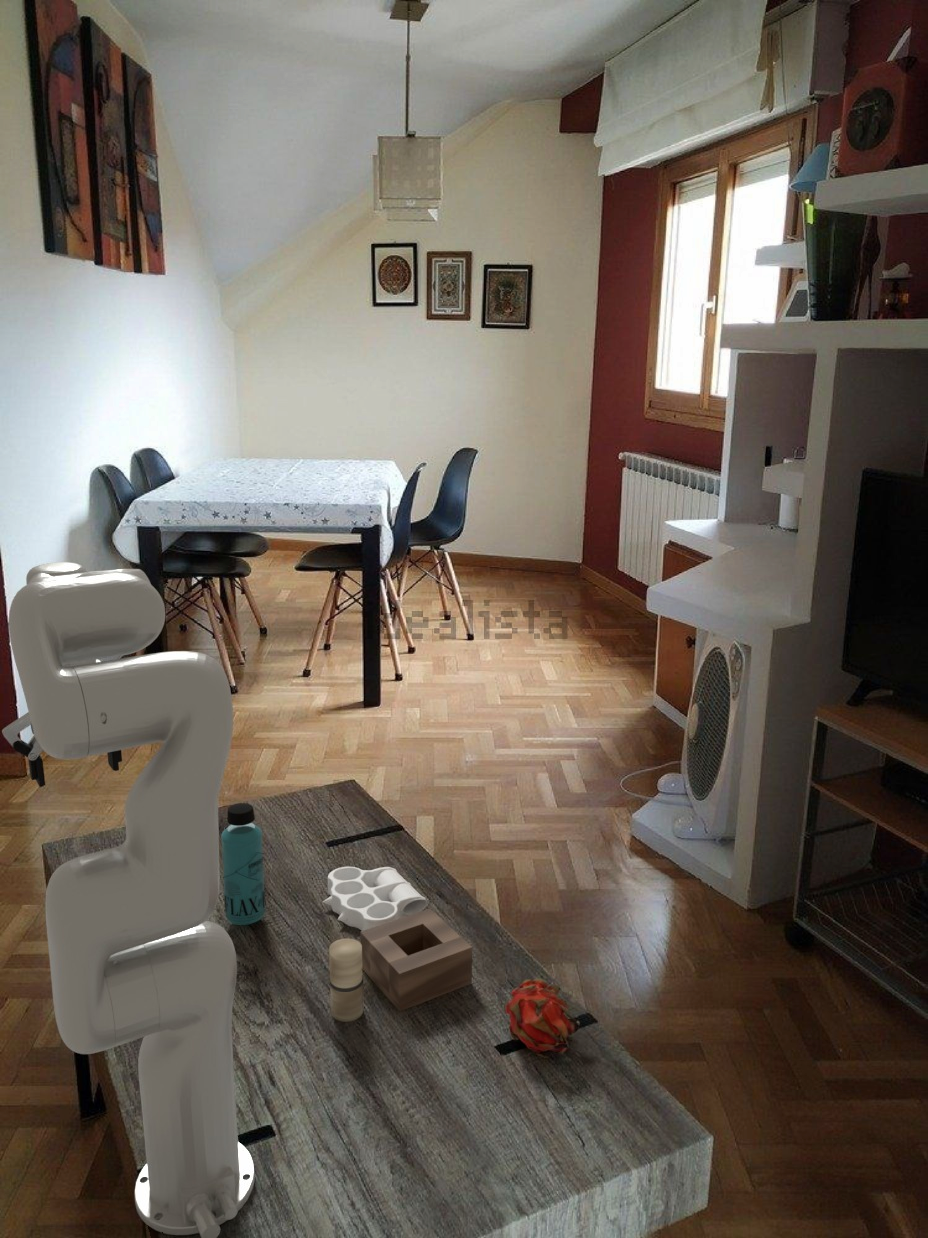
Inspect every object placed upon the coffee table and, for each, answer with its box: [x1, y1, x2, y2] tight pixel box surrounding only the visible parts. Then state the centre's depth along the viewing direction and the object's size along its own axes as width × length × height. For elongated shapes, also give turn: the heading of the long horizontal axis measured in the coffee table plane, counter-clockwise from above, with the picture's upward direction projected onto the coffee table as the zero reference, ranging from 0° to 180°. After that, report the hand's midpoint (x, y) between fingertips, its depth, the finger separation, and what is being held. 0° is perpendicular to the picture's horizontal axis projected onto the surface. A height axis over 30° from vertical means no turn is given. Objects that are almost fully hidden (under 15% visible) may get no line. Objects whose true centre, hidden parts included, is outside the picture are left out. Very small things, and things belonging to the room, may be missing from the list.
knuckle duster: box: [321, 866, 428, 932], centre depth 162 cm, size 3×18×15 cm
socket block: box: [359, 908, 473, 1012], centre depth 144 cm, size 12×12×6 cm
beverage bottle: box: [220, 802, 267, 926], centre depth 154 cm, size 6×7×20 cm
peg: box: [328, 937, 364, 1023], centre depth 135 cm, size 5×5×10 cm
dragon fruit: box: [503, 977, 581, 1059], centre depth 130 cm, size 8×8×12 cm
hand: (77, 775), depth 136 cm, fingers open, 9 cm apart
